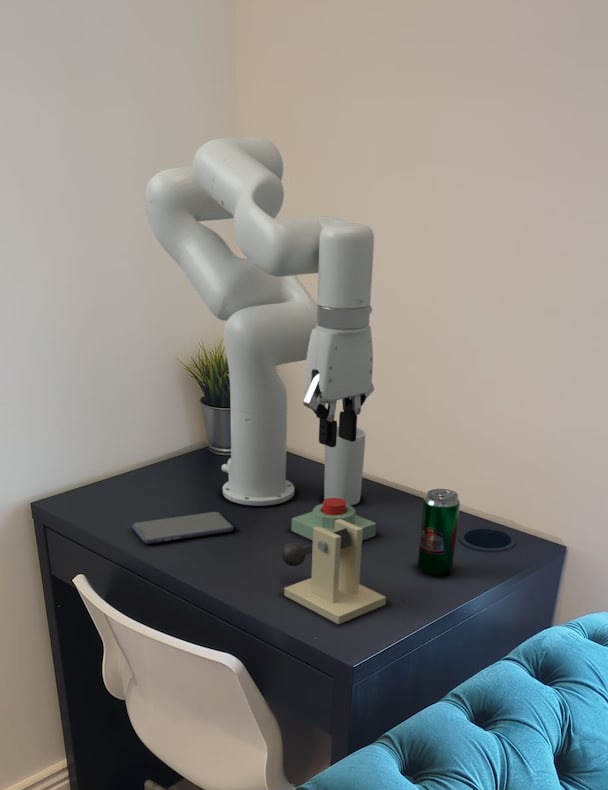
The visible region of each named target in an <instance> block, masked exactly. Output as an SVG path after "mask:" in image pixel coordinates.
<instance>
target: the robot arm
mask: <svg viewBox="0 0 608 790" xmlns="http://www.w3.org/2000/svg"><path fill="white" fill-rule="evenodd" d="M193 157H194V158H193V161H192V166H191V165H190V166H179V167H171V168H167V169H164V170H161V171H160V172H158V173H156V174H154V176H152V177H151V178H150V179H149V181H148V182H147V184H146V186H145V193H144V204H145V205H144V206H145V212H146V217H147V219H148V223H149V226H150V229H151V231H152V233H153V235H154V237H155V238H156V241H157V242H158V243H159V244H160V246H161V248H162V249H163V250H164V251H165V252H166V253H167V254H168V255H169V257H170V258H172V260H173V261H174V262H175V263H176V264H177V265H178V266H179V268H181V270H182V271H183V273H184V274H185V275H186V278H187V279H188V281H189V282H190V283H191V285H192V286H193V288H194V290H195V291H196V292H197V294H198V295H199V297H200V298H201V300H202V301H203V303H204V304H205V305H206V307H207V309H208V310H209V312H210V313H211V314H212V315H213V316H214V317H215V318H217V319H218V320H221V321H226V322H225V325H224V328H223V344H224V350H225V355H226V361H227V365H228V374H229V392H230V393H229V394H230V395H229V398H230V458H229V459H228V460H227V463H224V464H222V465H221V471H222V472H224V473H227V474H228V481H226V482H225V483H224V484H223V486H222V495H223V496H224V498H225V499H227V500H228V501H230V502H232V503H236V504H239V505H244V506H251V507H253V506H254V507H267V506H275V505H279V504H282V503H285V502H287V501H290V500H291V499H292V498H293V497H294V496H295V485H294V484H293V483H292V482H291V481H289V480H287V440H288V439H287V438H288V436H287V435H288V393H287V387H286V385H285V383H284V382H283V380H282V378H281V377H280V375H279V373H278V372H277V366H281V365H285V364H290V363H297V362H302V361H305V372H304V385H303V386H304V394H305V397H304V399H303V401H302V403H303V406H305V407H306V408H308V409H310V410H312V412H313V413H314V414H315V416H316V418H317V419H319V420H318V421H319V422H318V423H319V425H318V443H319V444H320V445H323V446H325V445H326V446H329V447H335V446H336V438H337V427H338V426H339V437H340V438H342V439H345V440H348V441H351V442H353V441H355V440H356V429H357V428H358V416H359V415H360V414H361V412H362V406H363V405H364V403H365V402H366V400H367V398H369V397H370V395H371V394H373V392H374V391H375V387H374V384H373V381H372V380H373V370H374V348H373V336H372V328H371V327H372V326H370V317H371V314H372V312H373V307H372V306H371V298H372V282H373V265H374V246H375V235H374V231H373V228H372V227H370V226H369V225H366V224H363V223H357V222H356V223H355V222H347V221H345V220H344V219H342V218H338V217H335V216H325V215H324V216H311V217H310V216H309V217H307V216H306V217H296V218H286V219H284V218H283V219H276V218H277V216H278V214H279V213H280V211H281V209H282V208H283V204H284V199H285V198H284V197H285V190H284V186H283V184H282V180H283V176H284V162H283V158H282V155H281V153H280V150H279V148H278V147H277V146H276V145H275V144H274V143H273V142H272V141H270V140H269V139H268V138H265V137H259V136H254V137H253V136H250V137H249V136H248V137H247V136H246V137H222V138H221V137H220V138H219V137H218V138H215V139H211V140H209V141H206V142H205V143H203V144H202V145H201V146H200V147H199V148H198V149H197V151H196V153H195V154H194V156H193ZM231 219H233V231H234V236H235V239H236V242H237V245H238V248H239V250H240V252H241V253H242V254H243V256H245V257H246V258H245V257H240V256H237V255H236V254H235V253H234V252H233V251H232V249H231V248H230V247H229V244H228V243H227V242H226V240H225V239H224V238H223V237H222V236H221V235H220V234H219V233H217V232H216V231H214V230H213V229H212V228H210V227H208V226H206V225H204V224H203V223H201V222H208V221H222V220H231ZM309 274H312V275H313V274H317V300H316V301H317V302H316V301H315V299H314V298H313V296H312V295H311V294H310V292H309V291H308V290H307V288H306V287H305V285H304V284H303V283H302V281H301V280H300V278H299V276H301V275H309ZM339 400H341V403H342V411H339V415H338V419H339V420H338V421H337V420H335V415H336V409H337V403H338V402H337V401H339ZM326 404H327V405H326ZM326 406H327V407H326Z"/></svg>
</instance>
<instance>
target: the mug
mask: <svg viewBox="0 0 608 790" xmlns="http://www.w3.org/2000/svg"><path fill="white" fill-rule="evenodd" d="M366 433H367V432H366V431H365V430H364V429H362V428H359V427H357V429H356V440H355V441H353V442H351V441H348V440H345V439H342V438H340V437H339V425H337V438H336V446H335V447H329V446H326V445H324V472H323V473H324V479H323V480H324V481H323V499H324V500H325V499H328V498H340V499H343V500H345V501H346V504H347V505H349V506H355V505H357V504H359V503H360V501H361V495H362V487H363V473H364V471H363V470H364V460H365V451H366ZM324 500H323V501H324Z"/></svg>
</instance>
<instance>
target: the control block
mask: <svg viewBox="0 0 608 790" xmlns="http://www.w3.org/2000/svg"><path fill="white" fill-rule="evenodd" d="M338 519H341V520H344V521H346V522H348V523H351V524H353V525H355V526H358V527H360V528H363V532H362V541H365V540H368V539H370V538H373V537H376V528H377V523H376V522H374V521H372V520H369V519H367V518H364V517H361V516H359V515H357V514H356V509H355V508H354V506H353V505H351V506H349V505H347V504H346V512H345V514H342V515H328V514H325V513H323V503H320V504H317V505H315V506H314V507H313V508H312V511H310V512H306V513H303V514H300V515H298V516H295V517H292V518H291V532H293V533H295V534H297V535H300V536H302V537H304V538H306V539H308V540H309V541H310V540H311V541H312V542H313V528H315V527H318V526H319V527H321V528H323V529H326V530H328V531H330V532H332V533H333V532H334V526H335V520H338Z"/></svg>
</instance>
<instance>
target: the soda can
mask: <svg viewBox="0 0 608 790" xmlns="http://www.w3.org/2000/svg"><path fill="white" fill-rule="evenodd" d="M458 497H459V494H458V493H457V492H456V491H454V490H451V489H449V488H448V489H447V488H432V489H430V490H428V491H427V492H426V496H424V498H423V505H422V514H421V523H420V524H421V525H420V526H421V527H420V536H419V547H418V556H417V557H418V558H417V568H418V570H419V571H420V572H421V573H422V574H423V575H426V576H429V577H438V578H439V577H445V576H446V575H447V576H448V574H450V572H452V571H453V566H454V565H453V564H454V558H455V549H456V539H457V531H458V523H459V515H460V505H461V501H460V499H459V498H458Z"/></svg>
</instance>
